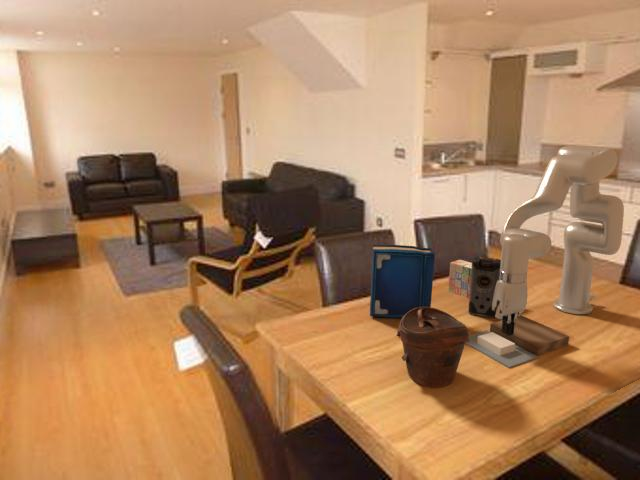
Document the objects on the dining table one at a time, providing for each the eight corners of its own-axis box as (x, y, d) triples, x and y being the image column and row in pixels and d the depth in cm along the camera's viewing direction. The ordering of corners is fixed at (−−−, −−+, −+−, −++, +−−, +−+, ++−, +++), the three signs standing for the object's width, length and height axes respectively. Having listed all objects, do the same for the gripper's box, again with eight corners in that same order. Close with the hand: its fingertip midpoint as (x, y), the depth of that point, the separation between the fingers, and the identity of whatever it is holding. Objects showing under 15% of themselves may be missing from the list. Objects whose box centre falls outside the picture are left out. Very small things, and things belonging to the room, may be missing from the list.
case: (413, 350, 147) (415, 295, 142) (478, 372, 135) (482, 312, 130) (381, 376, 134) (382, 316, 129) (449, 403, 122) (453, 338, 117)
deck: (520, 323, 165) (520, 315, 164) (568, 345, 150) (569, 336, 149) (489, 332, 159) (490, 323, 158) (536, 356, 144) (537, 346, 143)
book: (430, 312, 175) (434, 244, 169) (433, 320, 168) (436, 250, 162) (369, 310, 177) (371, 243, 171) (369, 318, 170) (371, 249, 164)
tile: (477, 336, 150) (477, 343, 151) (500, 348, 142) (499, 355, 143) (492, 331, 153) (491, 338, 153) (515, 343, 145) (514, 351, 146)
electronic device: (467, 314, 173) (471, 260, 168) (470, 308, 178) (474, 255, 173) (495, 319, 169) (499, 264, 163) (497, 313, 174) (502, 259, 168)
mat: (486, 331, 160) (486, 330, 159) (538, 357, 142) (538, 356, 142) (458, 339, 154) (458, 338, 154) (508, 368, 137) (509, 366, 137)
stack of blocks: (504, 304, 182) (507, 272, 178) (494, 308, 178) (497, 276, 175) (458, 287, 198) (460, 258, 195) (447, 291, 195) (449, 261, 192)
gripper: (520, 268, 151) (514, 323, 156) (484, 276, 144) (480, 333, 149) (541, 275, 144) (534, 332, 149) (504, 284, 138) (499, 343, 143)
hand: (507, 333), depth 149 cm, fingers closed
